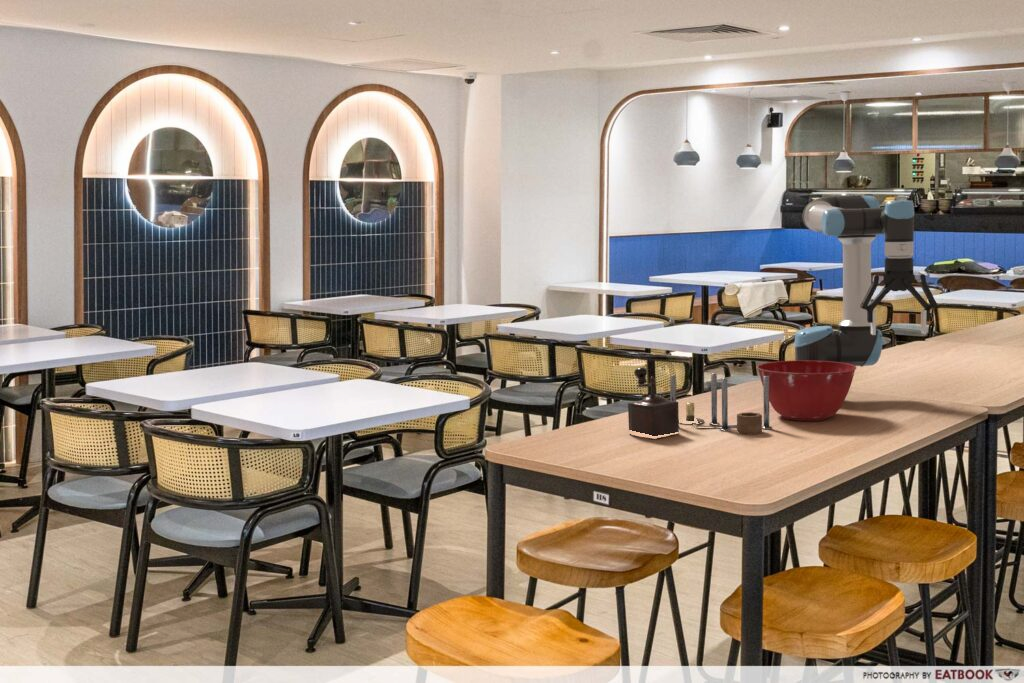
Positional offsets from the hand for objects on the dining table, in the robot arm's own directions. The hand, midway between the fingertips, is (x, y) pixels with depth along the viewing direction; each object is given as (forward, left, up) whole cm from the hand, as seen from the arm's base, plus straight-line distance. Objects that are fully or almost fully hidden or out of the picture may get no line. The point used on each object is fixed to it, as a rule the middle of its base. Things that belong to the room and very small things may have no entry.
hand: (898, 333), depth 317 cm
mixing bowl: (-22, -19, -27) cm, 39 cm away
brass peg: (-21, -54, -27) cm, 64 cm away
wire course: (-11, -48, -27) cm, 56 cm away
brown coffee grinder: (-8, -69, -27) cm, 74 cm away
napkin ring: (-4, -41, -27) cm, 49 cm away
